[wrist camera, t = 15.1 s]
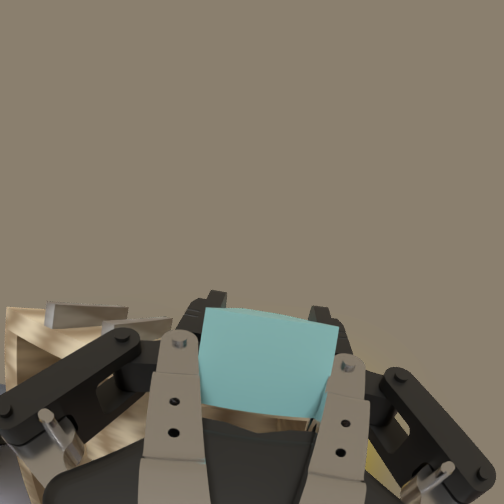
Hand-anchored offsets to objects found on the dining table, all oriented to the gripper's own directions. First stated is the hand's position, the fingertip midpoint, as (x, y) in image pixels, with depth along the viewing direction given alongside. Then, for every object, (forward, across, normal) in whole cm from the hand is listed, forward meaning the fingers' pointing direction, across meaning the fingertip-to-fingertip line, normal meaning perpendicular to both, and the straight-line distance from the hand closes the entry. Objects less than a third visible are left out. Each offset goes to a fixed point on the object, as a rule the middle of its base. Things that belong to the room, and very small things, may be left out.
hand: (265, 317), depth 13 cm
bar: (+4, 0, +6) cm, 7 cm away
